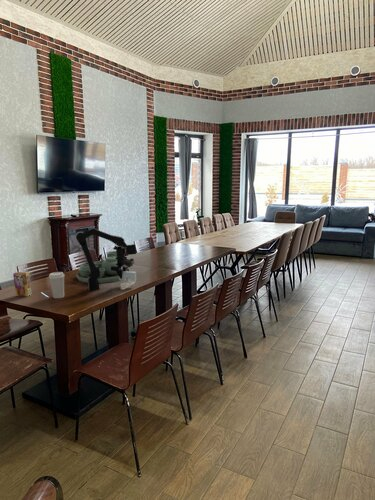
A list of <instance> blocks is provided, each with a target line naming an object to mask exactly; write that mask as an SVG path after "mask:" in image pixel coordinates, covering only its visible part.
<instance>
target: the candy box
mask: <svg viewBox="0 0 375 500" xmlns="http://www.w3.org/2000/svg"><path fill="white" fill-rule="evenodd" d="M12 275H13V283H14V292H15V297H16V296H25V297H30V296H32V295H31V294H33V293H32V285H31V277H30V271H16V272H13V274H12ZM29 295H30V296H29Z"/></svg>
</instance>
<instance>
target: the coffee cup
mask: <svg viewBox="0 0 375 500" xmlns="http://www.w3.org/2000/svg"><path fill="white" fill-rule="evenodd" d="M65 276H66V275H65V274H64V272H63V271H55V272H51V273H49V275H48V279H49V283H50V287H51V292H52V297H53V299H61V298H64V297H65Z"/></svg>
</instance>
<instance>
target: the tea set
mask: <svg viewBox="0 0 375 500" xmlns="http://www.w3.org/2000/svg"><path fill="white" fill-rule="evenodd" d="M105 253H106V259H103V258H101V260H97V261H93V262H94V264H95V265H96V266H97V265H98V267H99V270H100V276H99V278H98V279H97V280H98V282H99V284H103V283H111V282H112V283H114V282H117V281H120V280H119V275H118V274H117V272H116V271H111V269H110V268H111V266H114V265H116V263H117V259H115V257H117V256H116V250H113V251H112V250H111V251H107V252H105ZM79 267H80V268H78V273H77V274H76V276H75V277H76V278H77V280H78V281H79V282H82V283H85V284H86V283H87V284H88V282H87V281H88V276H89V274H90V268H89V264H88V263H84V264H80V265H79ZM127 267H128V266H127ZM126 271H130V272H131V269H130V267H128V268H127V269H126Z"/></svg>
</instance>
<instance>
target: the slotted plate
mask: <svg viewBox="0 0 375 500" xmlns="http://www.w3.org/2000/svg"><path fill="white" fill-rule="evenodd" d="M127 278H128V279H129V281H135V282H136V281H137V271H131V270H130V271H122V279H120V277H119V280H118V281H122V282H125V281H127Z"/></svg>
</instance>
